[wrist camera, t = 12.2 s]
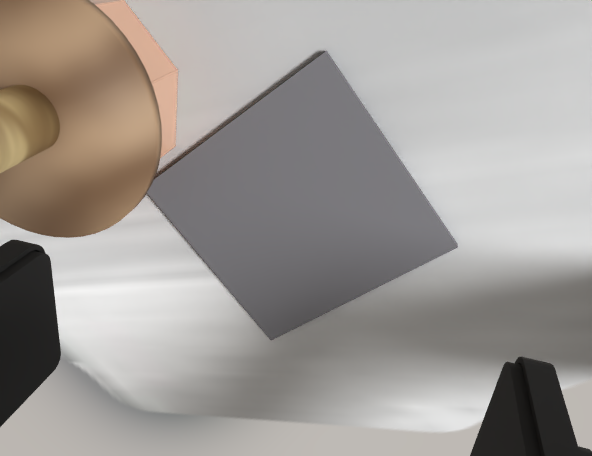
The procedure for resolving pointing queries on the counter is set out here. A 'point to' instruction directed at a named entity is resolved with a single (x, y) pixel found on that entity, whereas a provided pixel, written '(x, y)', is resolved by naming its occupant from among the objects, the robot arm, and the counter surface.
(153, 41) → the bowl
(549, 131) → the counter surface
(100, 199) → the lid
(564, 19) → the counter surface
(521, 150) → the counter surface
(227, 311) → the counter surface
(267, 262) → the mat
